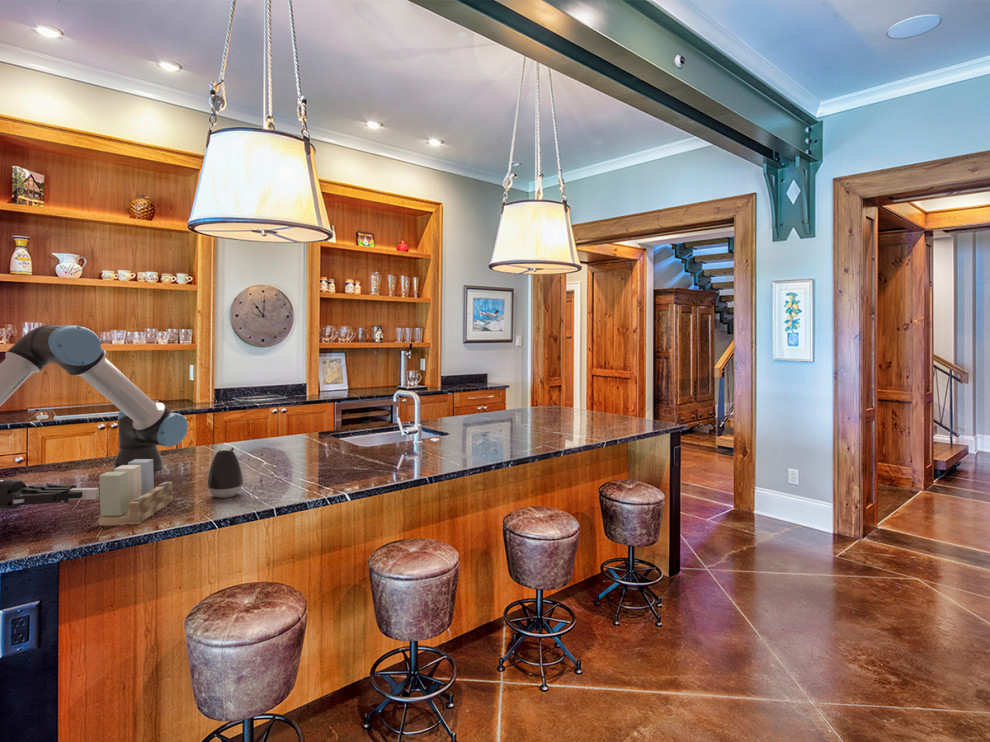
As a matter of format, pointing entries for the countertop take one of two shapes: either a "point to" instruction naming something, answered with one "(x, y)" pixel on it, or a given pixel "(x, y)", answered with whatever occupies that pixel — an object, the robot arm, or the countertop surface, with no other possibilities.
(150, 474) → the slate key
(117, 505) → the pale green tall block
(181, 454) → the countertop surface
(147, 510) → the wooden key holder base
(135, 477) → the cream rectangular block
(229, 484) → the pump dispenser
